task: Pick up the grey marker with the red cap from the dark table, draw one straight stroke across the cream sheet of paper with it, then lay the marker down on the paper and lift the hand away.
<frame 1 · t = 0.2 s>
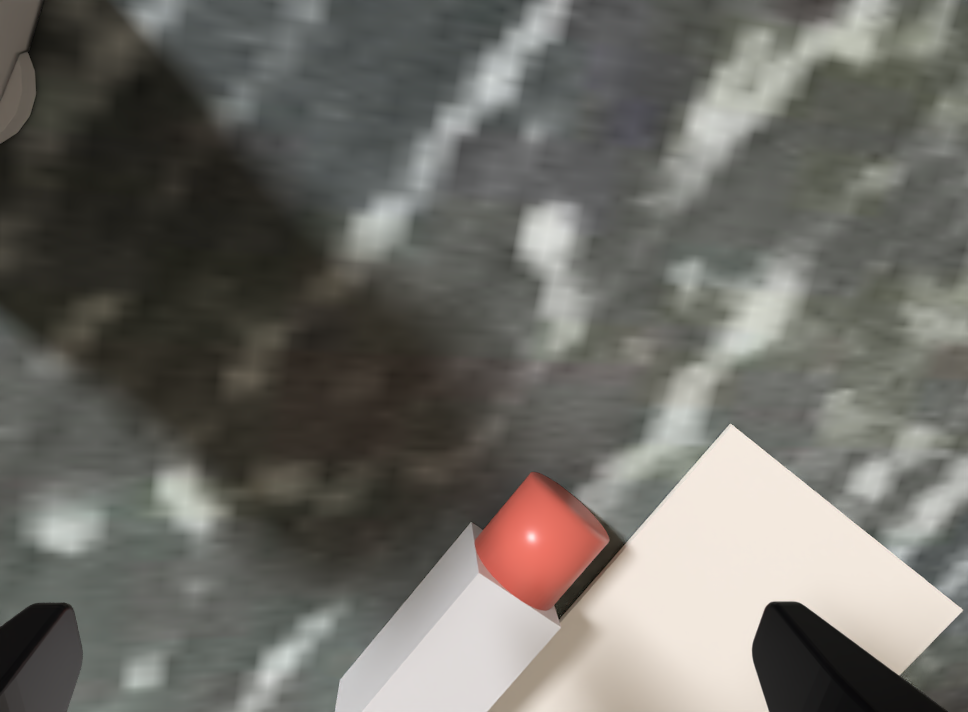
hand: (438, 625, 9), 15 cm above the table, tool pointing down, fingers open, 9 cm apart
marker: (465, 596, 26), on the table
paper: (694, 688, 28), on the table
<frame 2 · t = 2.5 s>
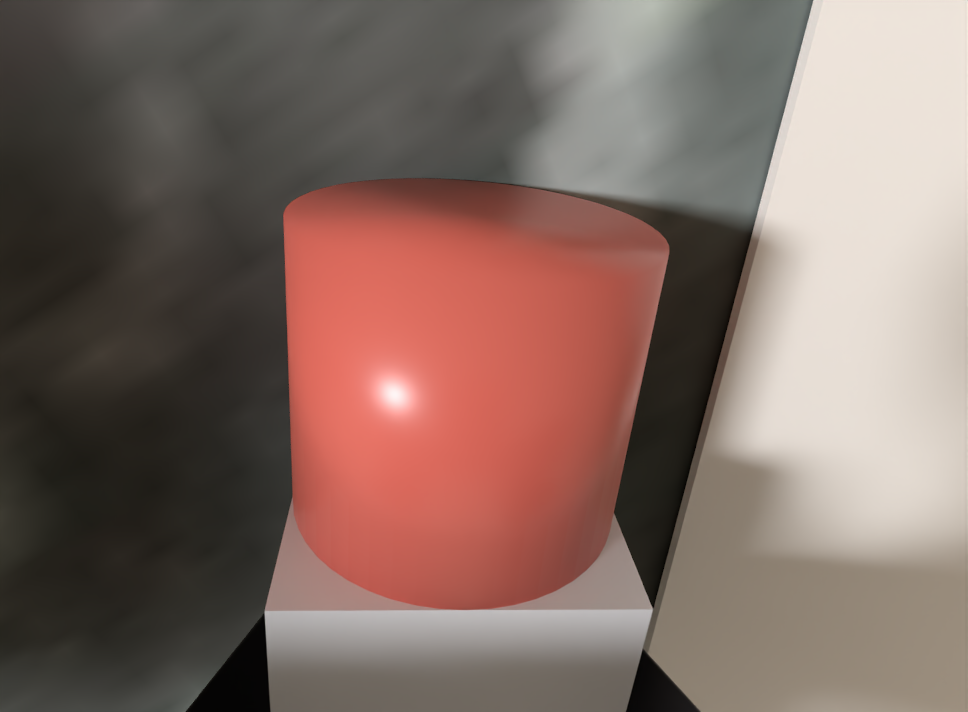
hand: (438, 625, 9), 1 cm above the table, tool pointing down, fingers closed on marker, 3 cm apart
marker: (435, 559, 10), on the table, touching gripper
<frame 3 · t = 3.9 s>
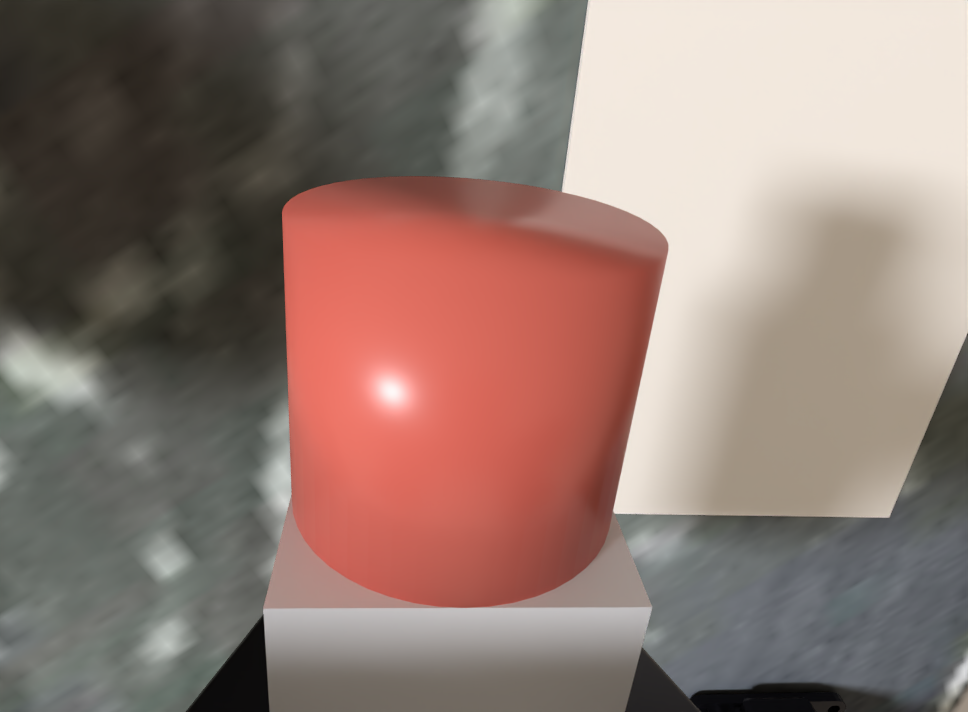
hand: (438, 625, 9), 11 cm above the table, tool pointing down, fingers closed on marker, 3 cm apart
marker: (435, 557, 10), point 10 cm above the table, touching gripper
paper: (780, 254, 20), on the table
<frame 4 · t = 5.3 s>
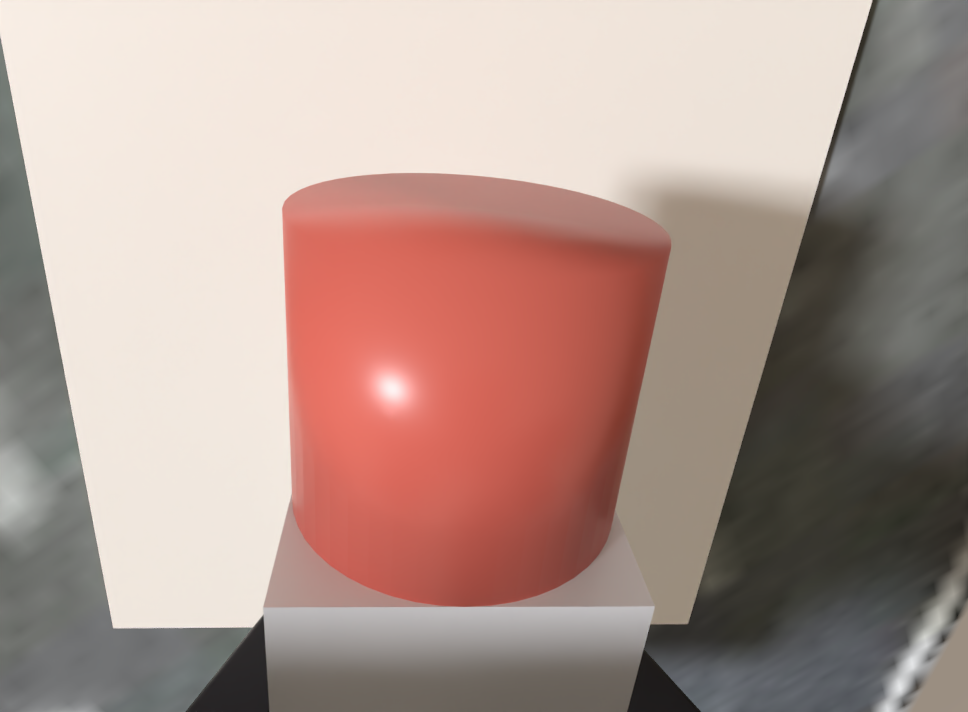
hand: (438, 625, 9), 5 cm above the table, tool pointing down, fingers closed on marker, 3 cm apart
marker: (435, 556, 10), point 4 cm above the table, touching gripper
paper: (439, 240, 12), on the table
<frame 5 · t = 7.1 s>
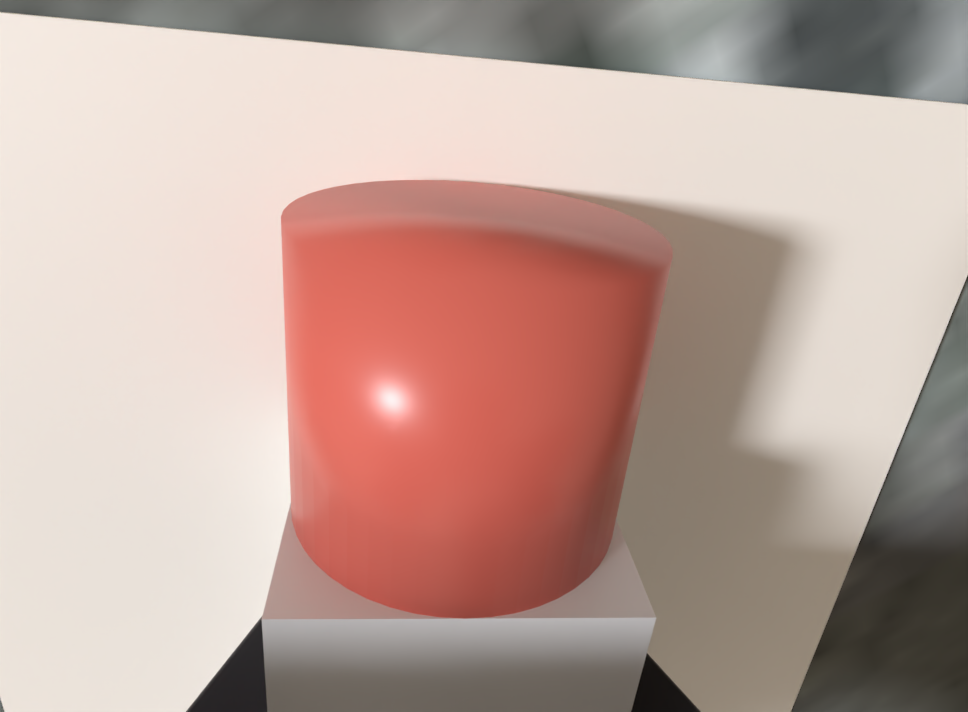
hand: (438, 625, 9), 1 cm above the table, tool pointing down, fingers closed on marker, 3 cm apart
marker: (435, 563, 10), resting on paper, touching gripper
paper: (430, 656, 11), on the table
when the fingers open (3 cm above the table, at t = 8.4 s): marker drops 1 cm, resting on paper.
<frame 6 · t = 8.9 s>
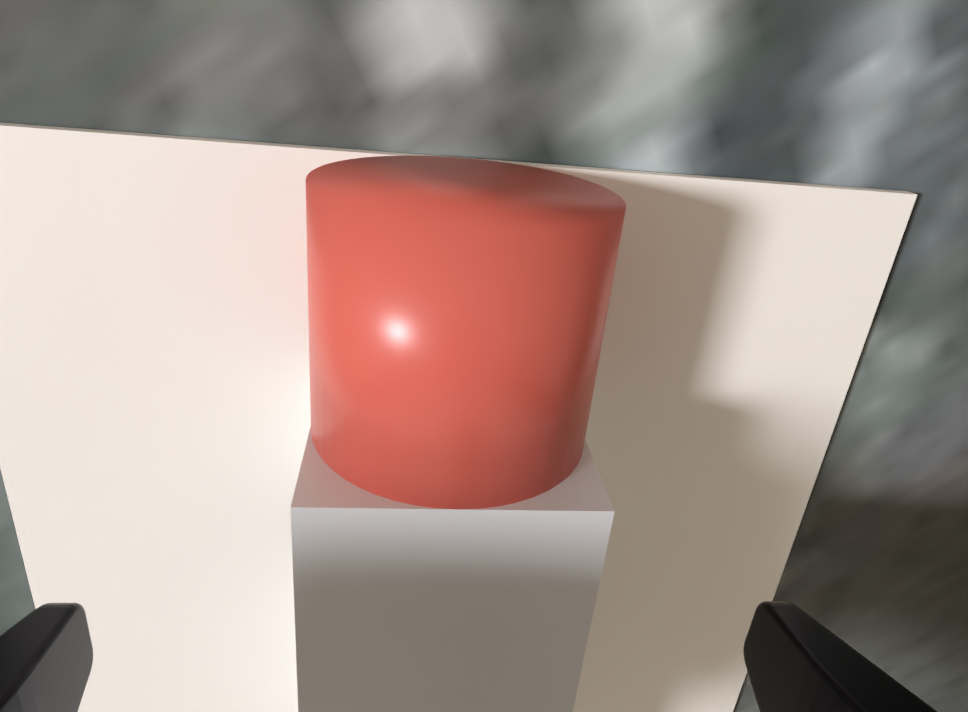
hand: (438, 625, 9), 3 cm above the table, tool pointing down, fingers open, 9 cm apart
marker: (434, 500, 11), resting on paper
paper: (422, 646, 13), on the table
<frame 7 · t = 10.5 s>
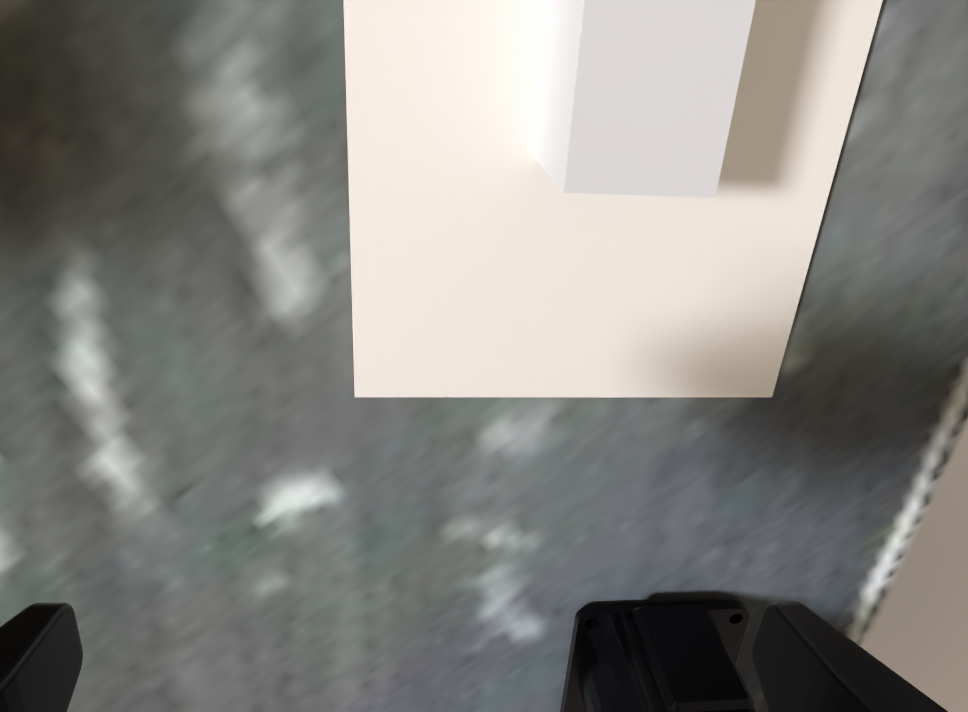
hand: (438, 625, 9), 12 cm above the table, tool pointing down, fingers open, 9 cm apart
paper: (609, 81, 18), on the table
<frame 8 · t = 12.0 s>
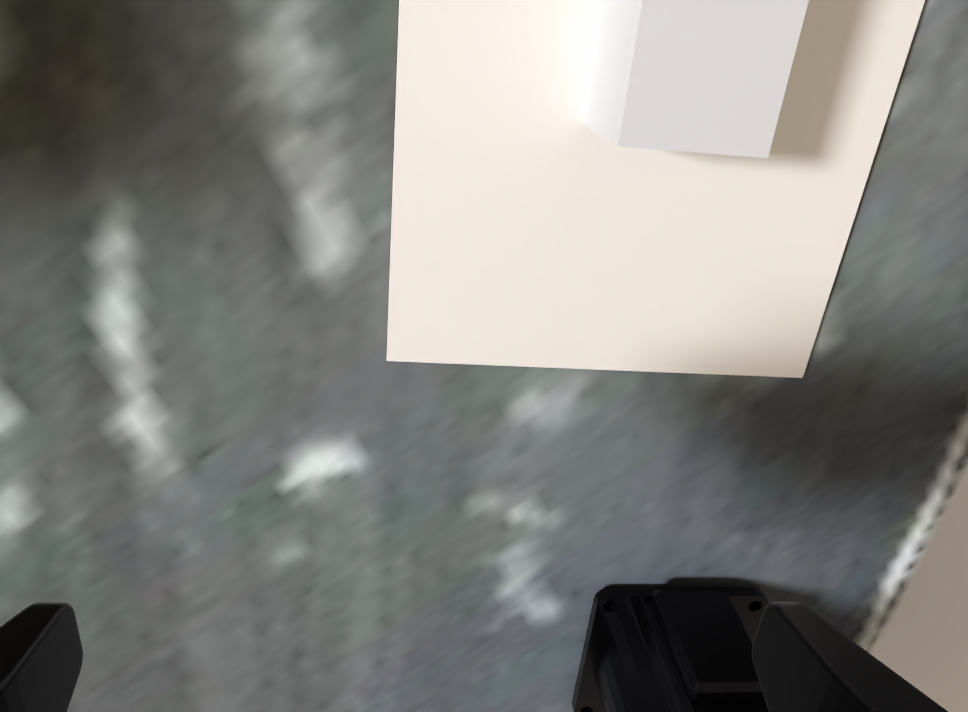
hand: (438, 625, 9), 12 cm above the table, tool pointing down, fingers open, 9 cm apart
paper: (659, 46, 18), on the table
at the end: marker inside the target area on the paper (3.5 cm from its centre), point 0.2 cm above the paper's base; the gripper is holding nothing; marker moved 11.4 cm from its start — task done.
